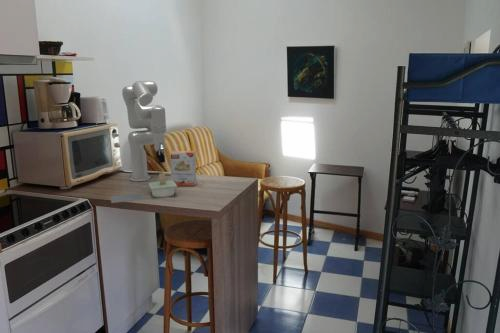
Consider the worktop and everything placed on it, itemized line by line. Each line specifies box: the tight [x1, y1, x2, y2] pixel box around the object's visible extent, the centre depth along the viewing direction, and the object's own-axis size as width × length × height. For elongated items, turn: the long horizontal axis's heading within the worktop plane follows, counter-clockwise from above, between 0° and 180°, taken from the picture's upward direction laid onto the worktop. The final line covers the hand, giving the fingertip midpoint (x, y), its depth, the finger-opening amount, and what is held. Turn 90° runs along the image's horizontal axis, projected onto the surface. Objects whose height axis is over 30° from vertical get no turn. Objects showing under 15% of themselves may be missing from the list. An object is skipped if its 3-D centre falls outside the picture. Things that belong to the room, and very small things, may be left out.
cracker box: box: [170, 150, 197, 187], centre depth 251 cm, size 14×6×21 cm, turn 84°
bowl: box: [151, 188, 175, 198], centre depth 233 cm, size 12×12×5 cm
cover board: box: [148, 172, 178, 191], centre depth 232 cm, size 14×14×7 cm
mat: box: [110, 192, 143, 204], centre depth 227 cm, size 14×16×1 cm
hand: (160, 160), depth 230 cm, fingers open, 9 cm apart
